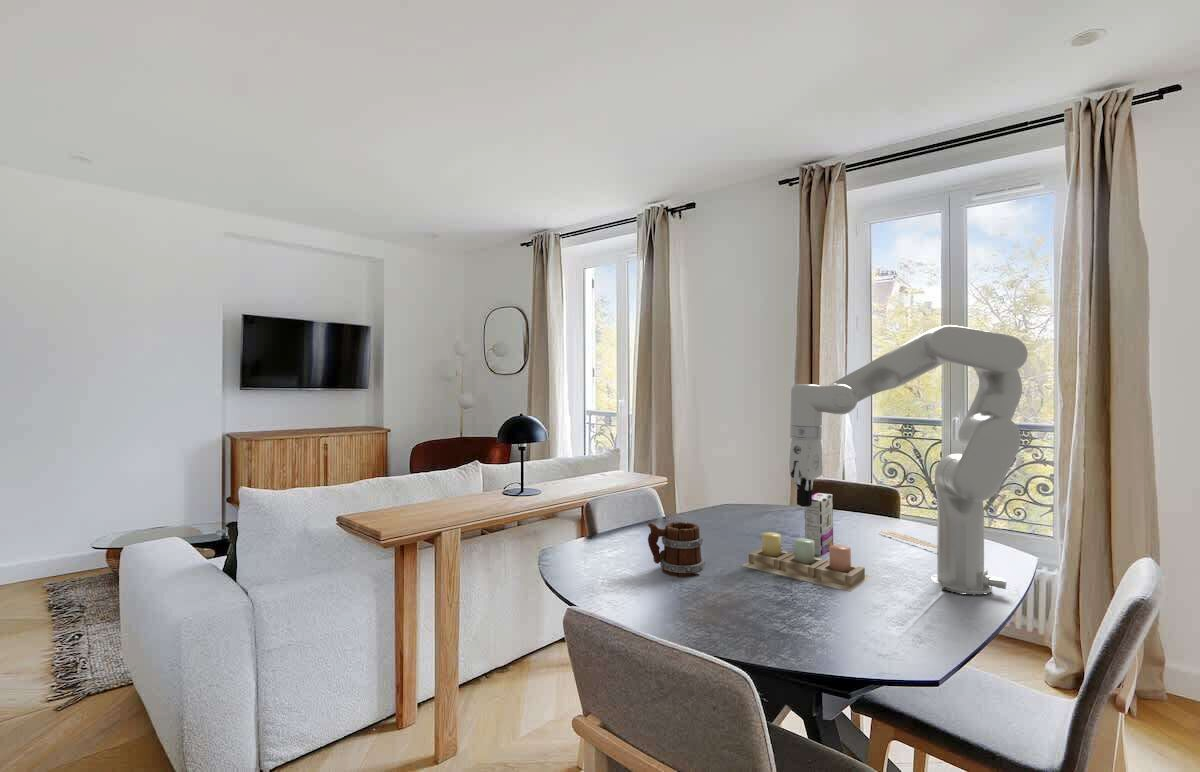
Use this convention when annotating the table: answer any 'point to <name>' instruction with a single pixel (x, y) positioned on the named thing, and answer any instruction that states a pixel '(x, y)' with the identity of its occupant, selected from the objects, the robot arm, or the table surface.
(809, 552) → the sage button
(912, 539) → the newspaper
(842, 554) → the salmon orange rounded piece
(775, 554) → the mustard button
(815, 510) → the candy bar box
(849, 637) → the table surface
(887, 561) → the table surface
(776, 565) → the wooden compartment tray
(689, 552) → the mug
